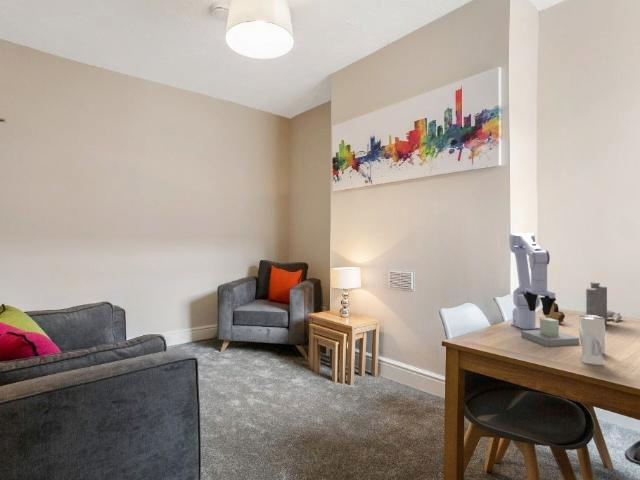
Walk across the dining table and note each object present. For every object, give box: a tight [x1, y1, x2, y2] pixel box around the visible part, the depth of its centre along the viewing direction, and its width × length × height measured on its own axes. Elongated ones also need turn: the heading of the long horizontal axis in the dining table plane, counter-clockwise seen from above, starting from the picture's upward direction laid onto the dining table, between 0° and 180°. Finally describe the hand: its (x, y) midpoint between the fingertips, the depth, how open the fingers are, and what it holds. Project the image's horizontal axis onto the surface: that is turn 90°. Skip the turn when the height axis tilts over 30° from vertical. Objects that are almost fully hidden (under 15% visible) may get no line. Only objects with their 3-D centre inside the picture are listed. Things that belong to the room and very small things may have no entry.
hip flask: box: [585, 281, 608, 325], centre depth 169 cm, size 16×4×20 cm, turn 122°
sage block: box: [539, 317, 560, 336], centre depth 146 cm, size 4×4×6 cm
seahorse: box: [583, 309, 623, 323], centre depth 178 cm, size 5×12×20 cm
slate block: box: [520, 329, 580, 347], centre depth 146 cm, size 14×14×3 cm
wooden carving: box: [541, 301, 566, 323], centre depth 178 cm, size 16×5×10 cm, turn 179°
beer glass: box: [578, 314, 606, 366], centre depth 121 cm, size 7×7×15 cm
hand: (539, 312), depth 150 cm, fingers open, 7 cm apart
